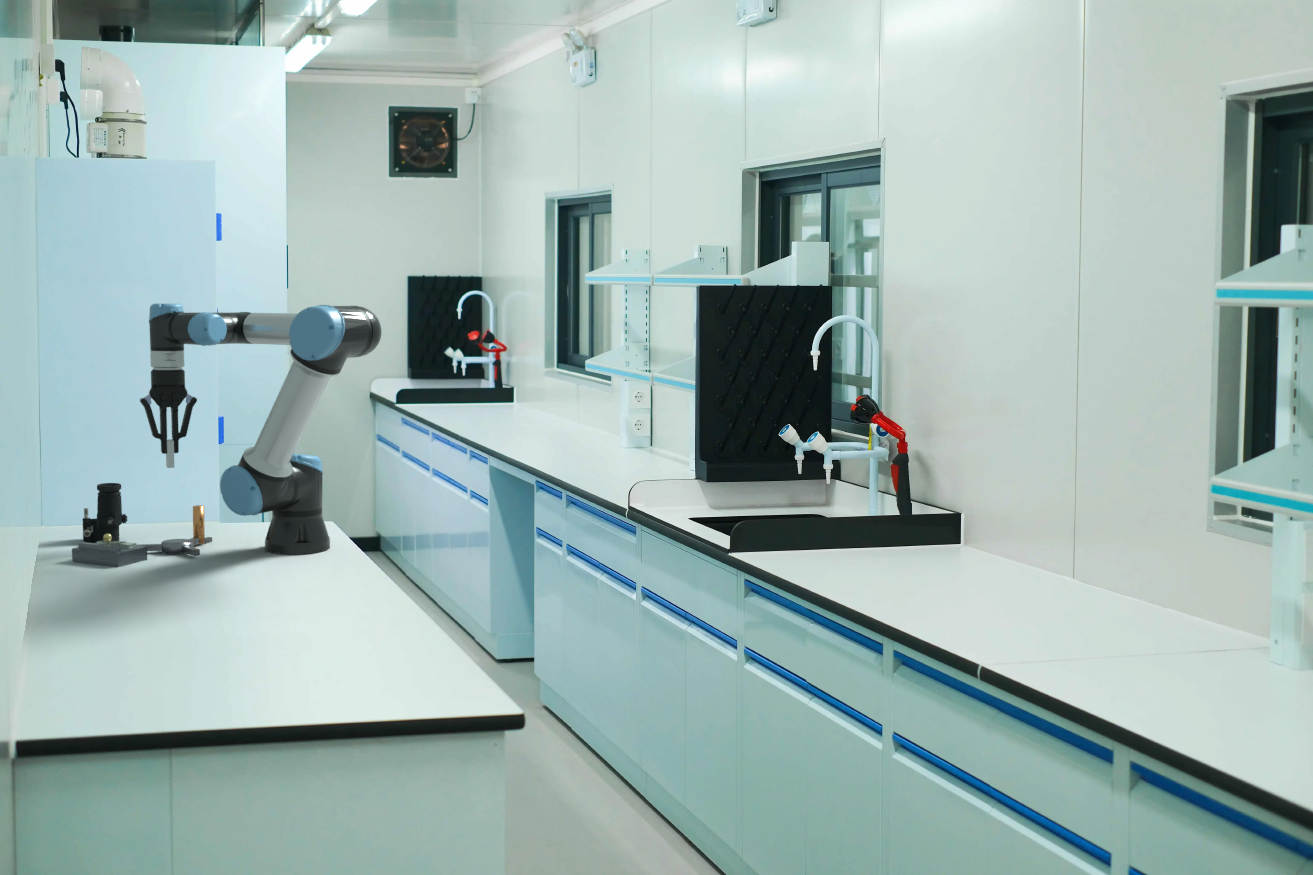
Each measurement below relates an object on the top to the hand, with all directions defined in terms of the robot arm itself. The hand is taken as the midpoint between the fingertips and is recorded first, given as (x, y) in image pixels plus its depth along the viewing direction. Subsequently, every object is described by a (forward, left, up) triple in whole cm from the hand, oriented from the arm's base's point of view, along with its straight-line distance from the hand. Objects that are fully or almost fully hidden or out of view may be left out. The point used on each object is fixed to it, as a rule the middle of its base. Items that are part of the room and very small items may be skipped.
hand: (170, 466), depth 306 cm
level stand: (0, +20, -19) cm, 27 cm away
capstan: (-6, +3, -19) cm, 20 cm away
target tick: (-5, -7, -19) cm, 21 cm away
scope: (+17, +3, -19) cm, 26 cm away
